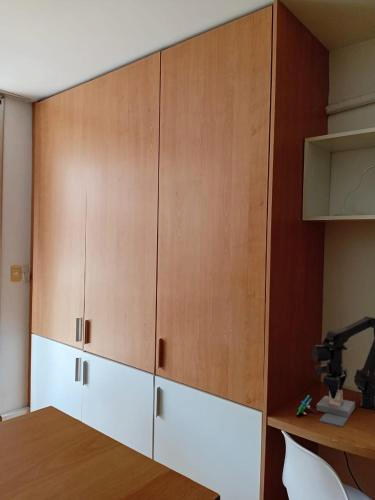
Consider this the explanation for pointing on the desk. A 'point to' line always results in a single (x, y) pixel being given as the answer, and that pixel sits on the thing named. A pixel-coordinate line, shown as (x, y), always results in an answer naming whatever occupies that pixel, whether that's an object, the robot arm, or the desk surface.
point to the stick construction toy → (305, 406)
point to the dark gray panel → (333, 420)
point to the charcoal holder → (336, 407)
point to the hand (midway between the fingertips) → (336, 395)
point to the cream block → (336, 398)
